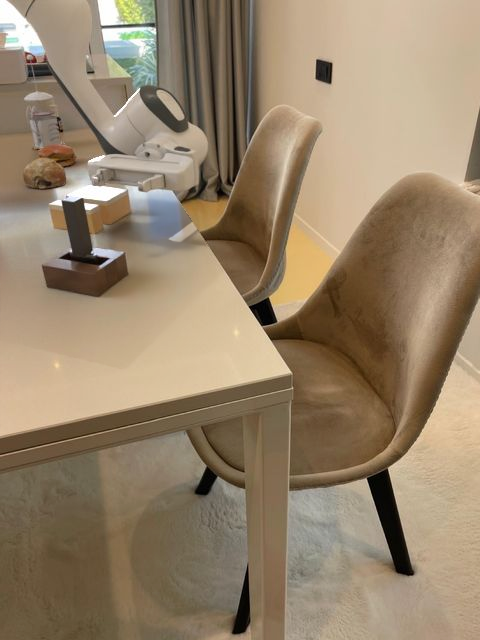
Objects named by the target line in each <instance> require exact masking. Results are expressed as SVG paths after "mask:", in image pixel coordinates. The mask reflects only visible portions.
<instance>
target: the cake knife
mask: <svg viewBox="0 0 480 640" xmlns="http://www.w3.org/2000/svg"><path fill="white" fill-rule="evenodd" d="M60 200H61V202H62V207H63V211H64V216H65V221H66V225H67V230H66V231H67V234H68V235H67V236H68V239H69V243H70V248H71V249H72V250H71V251H69V254H70V259H71V261H75V262H81V263H87V264H92V265H98V266H99V261H98V256H97V254H94V253H91V252H92V251H93V247H94V246H93V242H92V237H91V233H90V231H89V226H88V220H87V215H86V210H85V204H84V199H83V197H76V196H69V197H67V198H66V197H65V198H63V199H60Z"/></svg>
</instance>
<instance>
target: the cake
mask: <svg viewBox="0 0 480 640" xmlns="http://www.w3.org/2000/svg"><path fill="white" fill-rule="evenodd" d="M129 194H130V193H129V189H127V188H121V187H120V188H119V187H113V186H112V187H110V186H105V185H103V186H101V187H98V186H93V185H92V184H87V185H85V186H83V187H81V188H79V189H77V190H74V191H73V192H70V193H68V194H66V195H65V198H67V197H69V196H76V197H83V199H84V203H87V204H95V205H99V207H100V213H101V219H102V224H103V225H113V224H114V223H116V222H117V221H119V220H121V219H123V218H124V217H125V216H127V215H129V214H130V213H132V208H131V202H130V195H129Z"/></svg>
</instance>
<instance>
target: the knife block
mask: <svg viewBox="0 0 480 640" xmlns="http://www.w3.org/2000/svg"><path fill="white" fill-rule="evenodd" d="M92 247H93V251H92V252H91V253H94V254H97V256H98V261H99V266H98V265H92V264H87V263H81V262H75V261H71V259H70V254H69V251H71V250H72V249H71V247H69V248H67V249H65V250H64V251H62V252H60V253H59V254H57V255H56V256H54V257H52V258H50V259H48V260H47V261H45V262H44V263H42V264H41V268H42V272H43V277H44V281H45V285H46V287H47V288H50V289H55V290H60V291H66V292H71V293H77V294H81V295H87V296H92V297H96V298H98V297H100V296H101V295H102V294H103V293H106V291H108V290H109V289H110V288H111V287H113V286H114V285H116V283H118V282H119V281H121V280H122V279H123V278H125V277H126V276H127V275H129V270H128V263H127V255H126V252H125V251H119V250H114V249H106V248H102V247H101V248H100V247H94V246H92Z"/></svg>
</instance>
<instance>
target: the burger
mask: <svg viewBox="0 0 480 640" xmlns="http://www.w3.org/2000/svg"><path fill="white" fill-rule="evenodd" d="M37 156H38V158H48V159H52V160H54V161H55V162H56V163H58V164H60V165H61V166H62V167H63V168H65V167H64V166H67V167H69V166H68V165H71V164H73V163H74V162H76V158H77V154H75V150H74V149H73V148H72V147H71V146H69V145H66V144H65V145H48V146H45V147H43V148H42V149H40V150H38V152H37ZM74 164H75V163H74ZM74 164H73V165H74ZM71 166H72V165H71Z"/></svg>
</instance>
